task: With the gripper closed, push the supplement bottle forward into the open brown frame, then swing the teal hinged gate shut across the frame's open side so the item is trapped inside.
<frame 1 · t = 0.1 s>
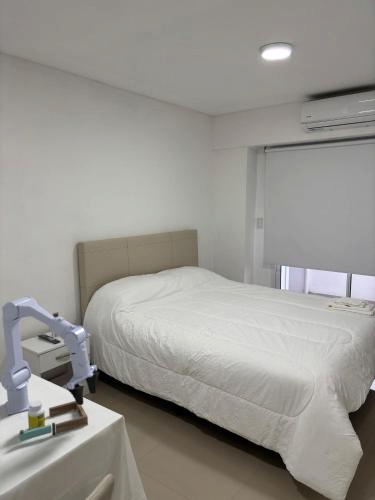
hand: (86, 398, 134), 11 cm above the table, tool pointing down, fingers open, 7 cm apart
brown frame: (64, 420, 138), on the table
supplement bottle: (37, 429, 133), on the table
swing gate: (35, 431, 127), point 3 cm above the table, hinge at 88.0°
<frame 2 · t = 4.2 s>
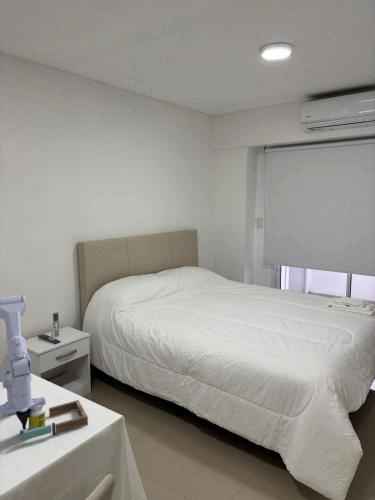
hand: (24, 428, 131), 2 cm above the table, tool pointing down, fingers closed, pressing on supplement bottle
supplement bottle: (37, 429, 133), on the table, touching gripper
everything else where it was.
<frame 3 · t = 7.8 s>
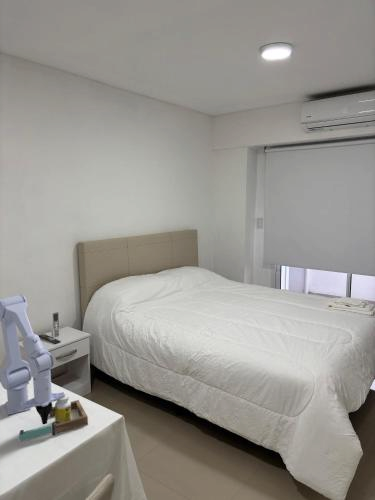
hand: (44, 422, 134), 2 cm above the table, tool pointing down, fingers closed
supplement bottle: (63, 421, 138), on the table
everything else where it was.
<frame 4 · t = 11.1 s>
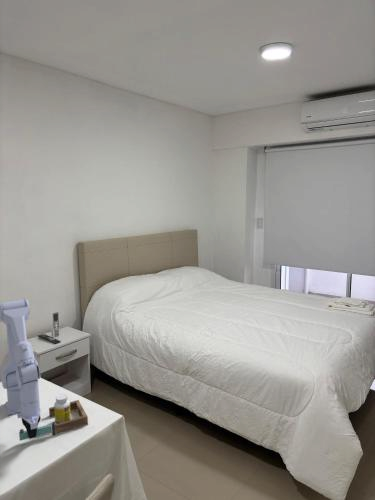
hand: (32, 437, 126), 2 cm above the table, tool pointing down, fingers closed, pressing on swing gate
swing gate: (35, 431, 127), point 3 cm above the table, hinge at 85.4°, touching gripper
everything else where it was.
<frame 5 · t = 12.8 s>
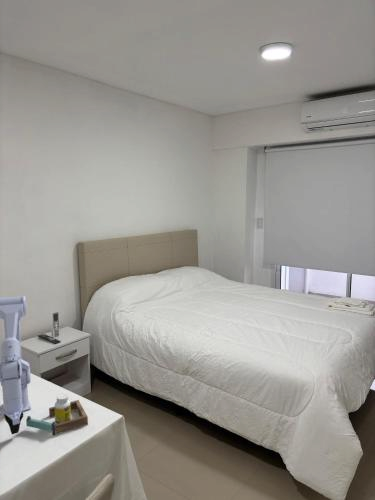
hand: (15, 432, 128), 2 cm above the table, tool pointing down, fingers closed
swing gate: (39, 423, 131), point 3 cm above the table, hinge at 42.9°
everything else where it was.
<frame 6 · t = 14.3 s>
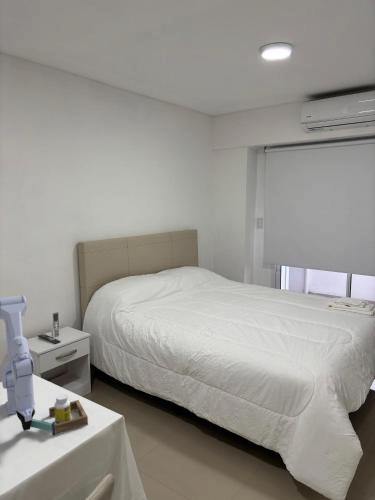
hand: (26, 428, 130), 2 cm above the table, tool pointing down, fingers closed
swing gate: (39, 423, 131), point 3 cm above the table, hinge at 42.9°, touching gripper
everything else where it was.
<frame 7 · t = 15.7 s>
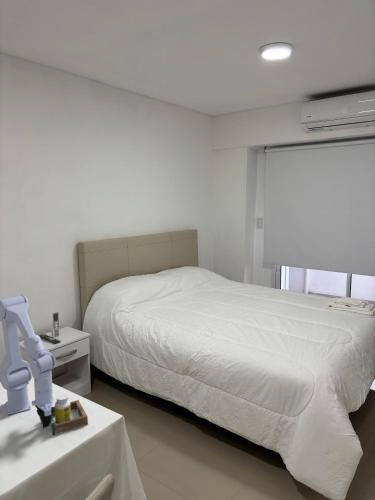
hand: (45, 423, 134), 2 cm above the table, tool pointing down, fingers closed on swing gate, 3 cm apart
swing gate: (50, 417, 135), point 3 cm above the table, hinge at -1.4°, touching gripper
everything else where it was.
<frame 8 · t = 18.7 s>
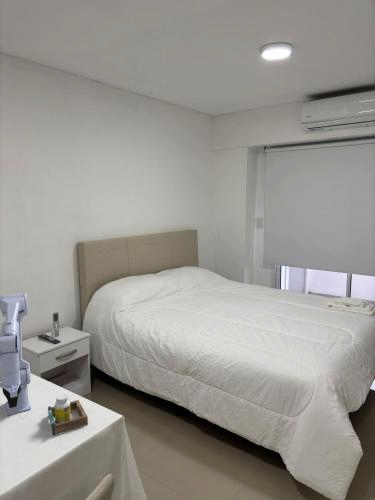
hand: (12, 406, 130), 9 cm above the table, tool pointing down, fingers closed
swing gate: (51, 417, 135), point 3 cm above the table, hinge at -3.6°
everything else where it was.
at the end: supplement bottle inside the target area (1.8 cm from its centre), on the table; supplement bottle tilted 0°; swing gate at -4° (first picture: +88°) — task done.
